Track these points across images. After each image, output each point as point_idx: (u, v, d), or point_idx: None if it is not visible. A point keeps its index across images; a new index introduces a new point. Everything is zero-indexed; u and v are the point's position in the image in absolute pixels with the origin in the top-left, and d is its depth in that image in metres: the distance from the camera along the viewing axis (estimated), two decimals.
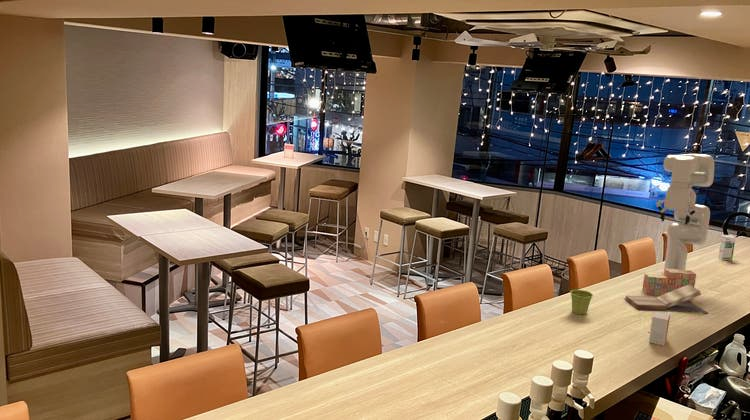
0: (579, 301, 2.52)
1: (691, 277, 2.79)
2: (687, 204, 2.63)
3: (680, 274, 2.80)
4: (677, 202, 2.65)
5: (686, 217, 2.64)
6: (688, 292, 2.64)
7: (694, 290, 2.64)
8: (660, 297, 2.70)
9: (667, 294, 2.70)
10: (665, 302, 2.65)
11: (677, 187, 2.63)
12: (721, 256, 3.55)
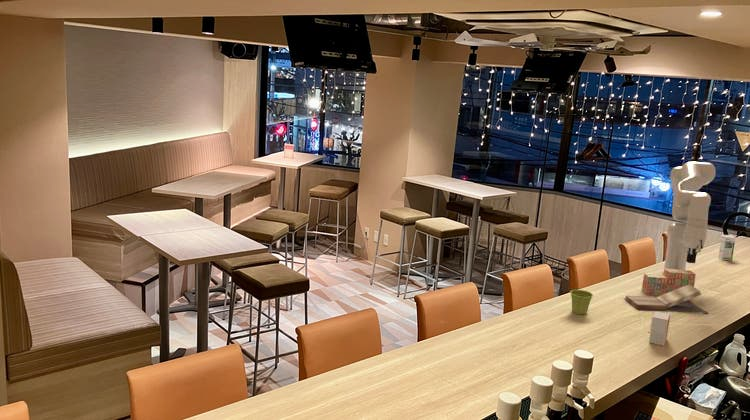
0: (579, 301, 2.52)
1: (690, 277, 2.79)
2: None
3: (679, 274, 2.80)
4: None
5: None
6: (688, 292, 2.64)
7: (694, 290, 2.64)
8: (660, 297, 2.70)
9: (667, 294, 2.70)
10: (665, 302, 2.65)
11: None
12: (721, 256, 3.55)
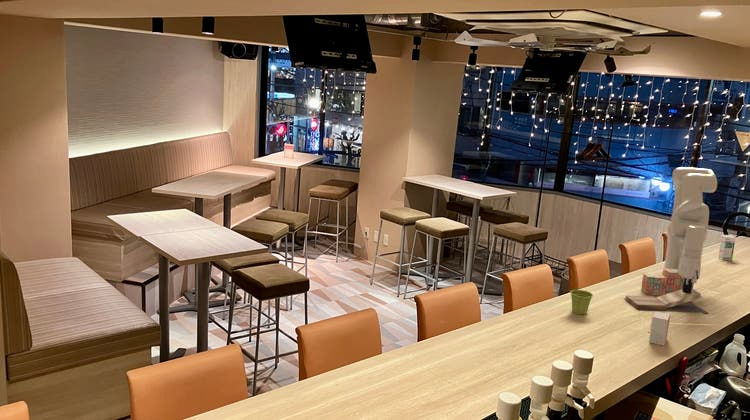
0: (579, 301, 2.52)
1: None
2: None
3: None
4: None
5: None
6: (689, 294, 2.65)
7: (695, 292, 2.64)
8: (660, 297, 2.70)
9: (667, 295, 2.70)
10: (665, 302, 2.65)
11: None
12: (721, 256, 3.55)
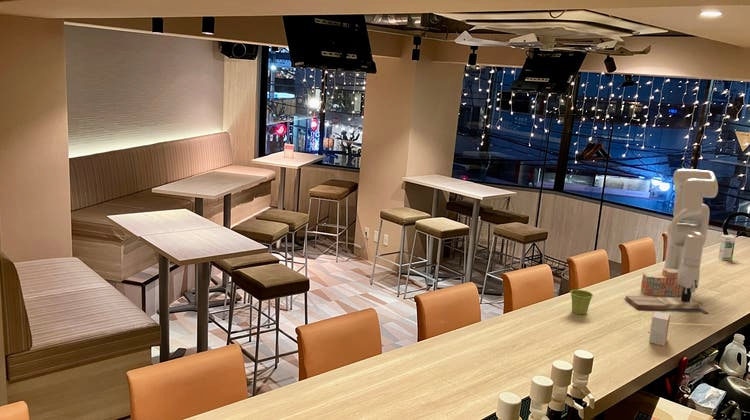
0: (579, 301, 2.52)
1: None
2: None
3: None
4: None
5: None
6: (689, 302, 2.65)
7: (695, 302, 2.65)
8: (660, 298, 2.70)
9: (667, 298, 2.71)
10: (665, 303, 2.65)
11: None
12: (721, 256, 3.55)
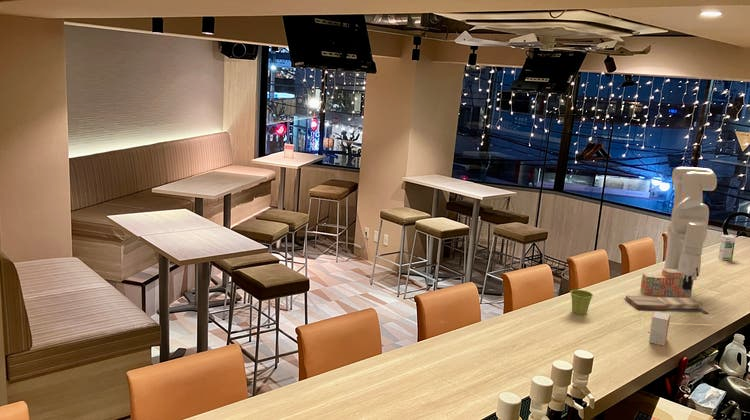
0: (579, 301, 2.52)
1: None
2: None
3: (678, 274, 2.80)
4: None
5: None
6: (689, 302, 2.65)
7: (695, 302, 2.65)
8: (660, 298, 2.70)
9: (667, 298, 2.71)
10: (665, 303, 2.65)
11: None
12: (721, 256, 3.55)
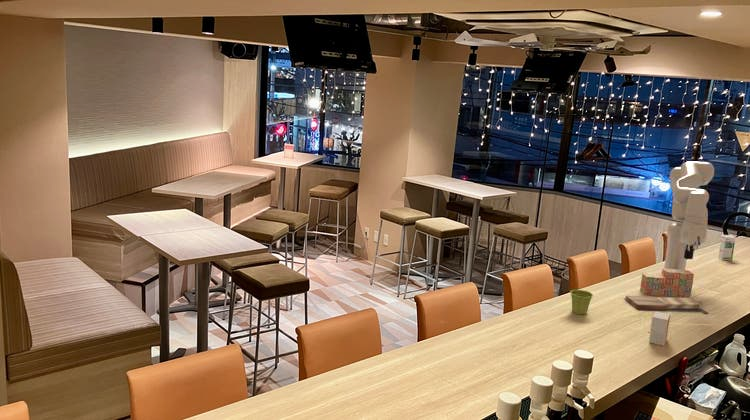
0: (579, 301, 2.52)
1: (689, 277, 2.79)
2: None
3: (678, 274, 2.80)
4: None
5: None
6: (689, 302, 2.65)
7: (695, 302, 2.65)
8: (660, 298, 2.70)
9: (667, 298, 2.71)
10: (665, 303, 2.65)
11: None
12: (721, 256, 3.55)
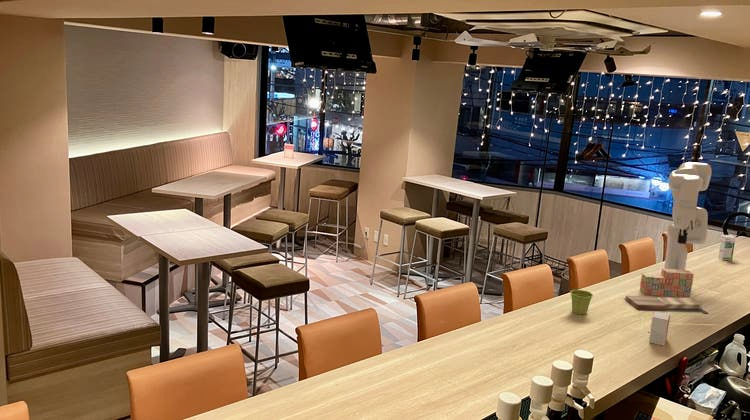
0: (579, 301, 2.52)
1: (688, 277, 2.79)
2: None
3: (677, 274, 2.80)
4: None
5: None
6: (689, 302, 2.65)
7: (695, 302, 2.65)
8: (660, 298, 2.70)
9: (667, 298, 2.71)
10: (665, 303, 2.65)
11: None
12: (721, 256, 3.55)
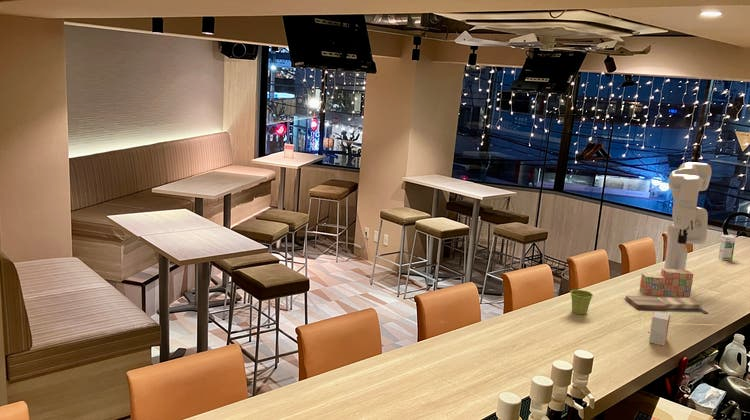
0: (579, 301, 2.52)
1: (688, 277, 2.79)
2: None
3: (677, 274, 2.80)
4: None
5: None
6: (689, 302, 2.65)
7: (695, 302, 2.65)
8: (660, 298, 2.70)
9: (667, 298, 2.71)
10: (665, 303, 2.65)
11: None
12: (721, 256, 3.55)
